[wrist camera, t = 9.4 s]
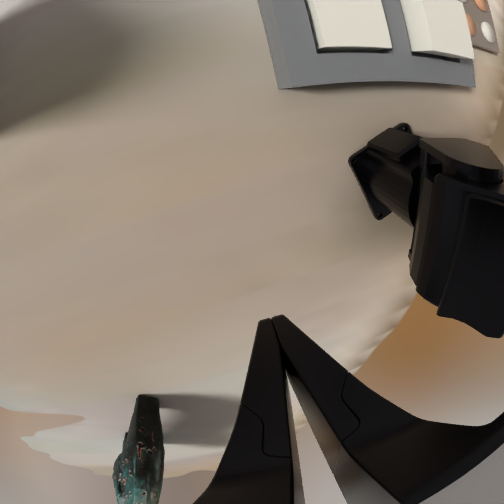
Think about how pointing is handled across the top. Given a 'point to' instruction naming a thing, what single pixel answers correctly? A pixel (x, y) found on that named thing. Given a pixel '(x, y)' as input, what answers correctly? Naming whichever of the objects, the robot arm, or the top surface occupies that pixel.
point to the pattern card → (480, 25)
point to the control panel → (351, 53)
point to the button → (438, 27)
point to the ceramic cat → (141, 456)
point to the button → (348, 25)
